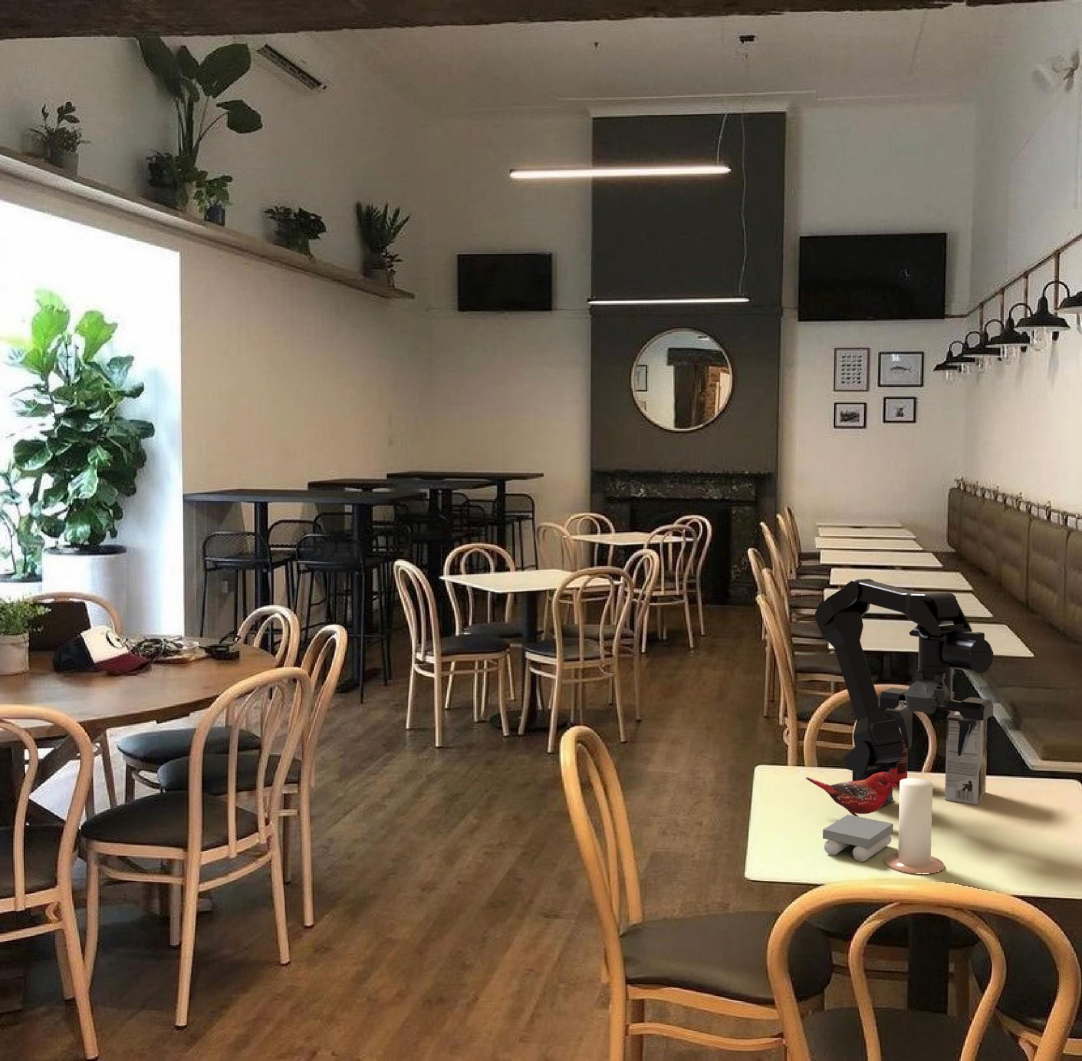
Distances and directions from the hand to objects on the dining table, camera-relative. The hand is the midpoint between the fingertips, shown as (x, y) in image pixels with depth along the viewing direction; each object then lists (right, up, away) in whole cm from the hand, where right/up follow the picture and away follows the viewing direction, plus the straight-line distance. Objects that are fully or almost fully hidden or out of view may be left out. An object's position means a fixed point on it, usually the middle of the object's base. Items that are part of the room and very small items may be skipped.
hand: (934, 751), depth 215 cm
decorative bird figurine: (-14, -13, +3) cm, 19 cm away
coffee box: (+12, -12, +18) cm, 24 cm away
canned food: (0, -11, +28) cm, 30 cm away
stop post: (-9, -14, -19) cm, 26 cm away
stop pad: (-9, -15, -19) cm, 26 cm away
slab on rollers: (-17, -14, -12) cm, 25 cm away
